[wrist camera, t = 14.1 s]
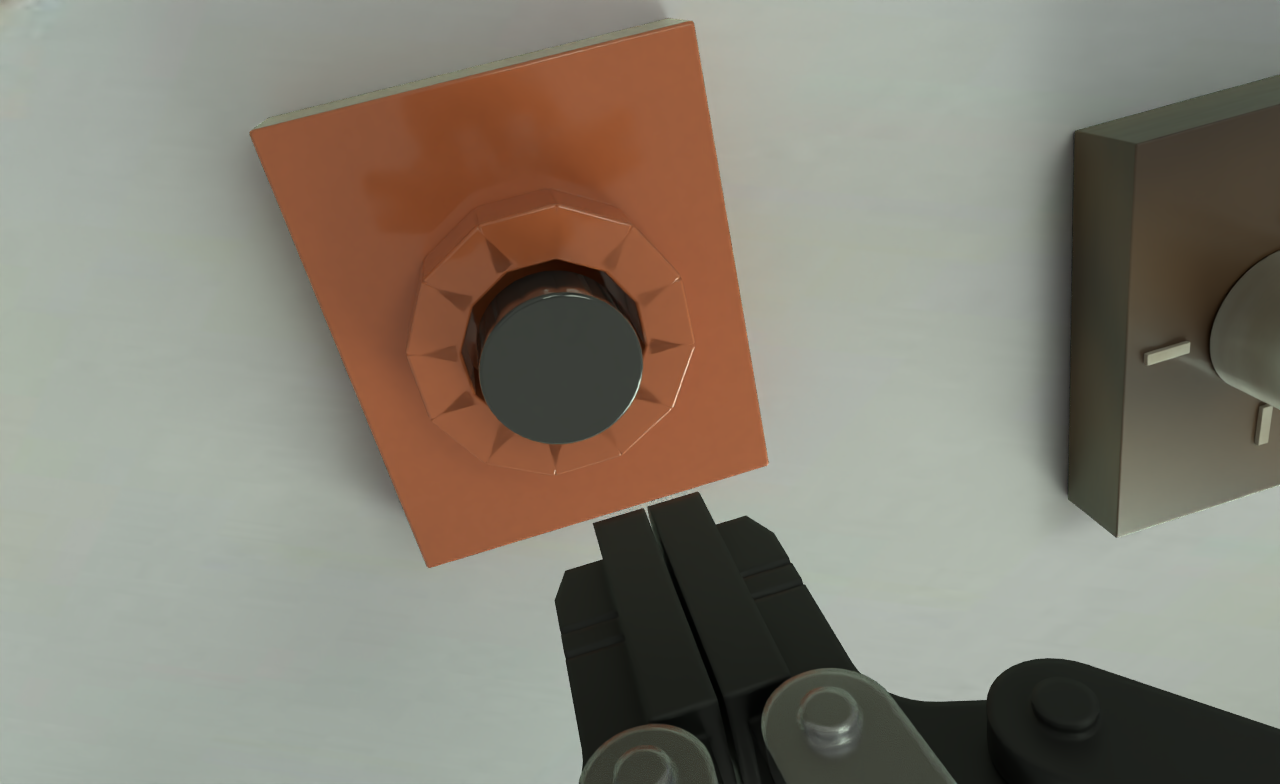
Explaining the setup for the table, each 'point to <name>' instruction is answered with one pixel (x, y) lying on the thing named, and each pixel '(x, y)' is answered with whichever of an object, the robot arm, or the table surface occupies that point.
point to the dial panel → (1168, 306)
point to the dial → (1251, 333)
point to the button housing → (525, 273)
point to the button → (557, 357)
